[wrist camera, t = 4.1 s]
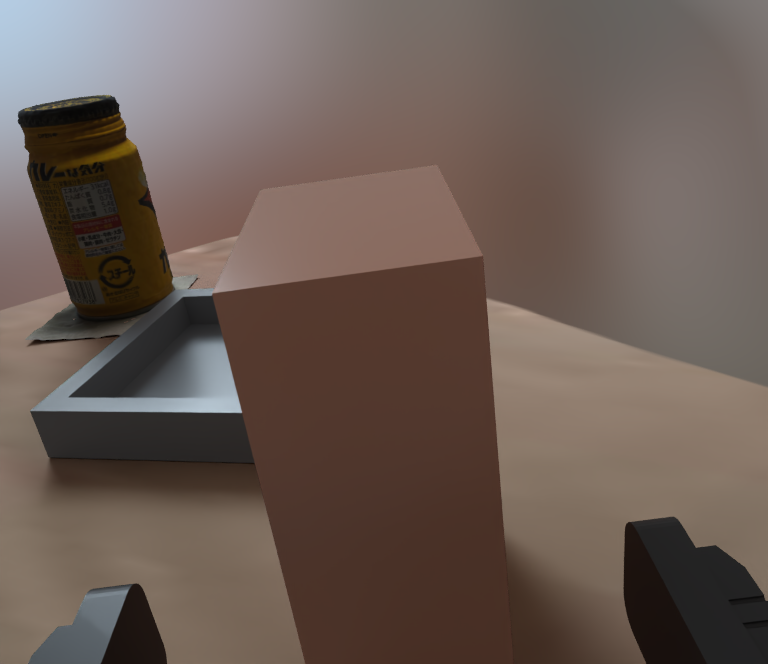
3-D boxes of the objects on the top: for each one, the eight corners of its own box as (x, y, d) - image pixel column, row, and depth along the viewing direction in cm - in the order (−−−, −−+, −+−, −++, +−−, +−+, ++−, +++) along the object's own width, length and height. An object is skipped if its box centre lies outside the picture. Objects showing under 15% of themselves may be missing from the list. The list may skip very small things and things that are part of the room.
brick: (322, 732, 16) (211, 293, 12) (330, 527, 23) (260, 189, 18) (517, 707, 16) (482, 256, 12) (471, 509, 23) (437, 164, 18)
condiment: (199, 277, 47) (149, 85, 42) (149, 334, 39) (81, 108, 34) (94, 287, 48) (33, 101, 43) (26, 345, 40) (-58, 127, 35)
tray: (48, 457, 29) (30, 411, 28) (185, 326, 39) (175, 289, 38) (331, 465, 26) (321, 413, 25) (398, 321, 36) (392, 281, 35)
